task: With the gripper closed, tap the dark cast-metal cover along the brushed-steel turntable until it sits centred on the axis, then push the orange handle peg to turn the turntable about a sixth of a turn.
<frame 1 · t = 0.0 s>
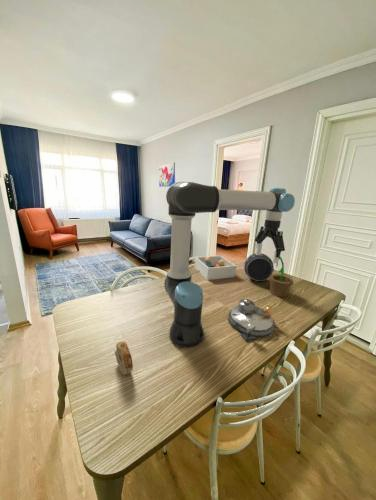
hand: (266, 258, 113), 28 cm above the table, fingers open, 13 cm apart
cover: (245, 310, 107), point 4 cm above the table, touching turntable
turntable: (252, 312, 102), point 6 cm above the table, hinge at -20.0°, touching cover
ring: (256, 279, 154), on the table
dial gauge: (247, 337, 93), on the table
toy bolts: (214, 272, 163), resting in parts crate
parts crate: (214, 272, 163), on the table
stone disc: (124, 368, 74), on the table
turntable base: (250, 322, 104), on the table
flowerpot: (278, 293, 135), on the table
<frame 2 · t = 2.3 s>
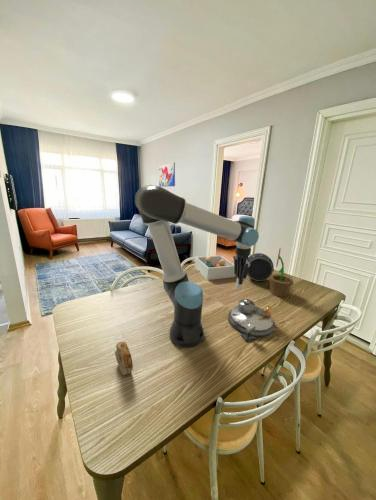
hand: (238, 288, 113), 12 cm above the table, fingers closed
nothing on the table moved.
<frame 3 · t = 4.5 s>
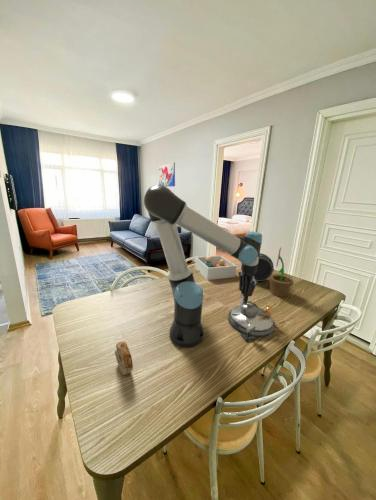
hand: (243, 305, 109), 5 cm above the table, fingers closed
cover: (248, 312, 105), point 4 cm above the table, touching gripper
turntable: (252, 312, 102), point 6 cm above the table, hinge at -20.0°
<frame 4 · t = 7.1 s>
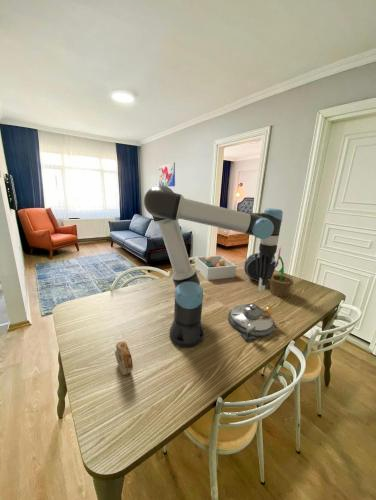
hand: (261, 290, 101), 17 cm above the table, fingers closed
cover: (251, 315, 103), point 4 cm above the table, touching turntable
turntable: (252, 312, 102), point 6 cm above the table, hinge at -20.0°, touching cover
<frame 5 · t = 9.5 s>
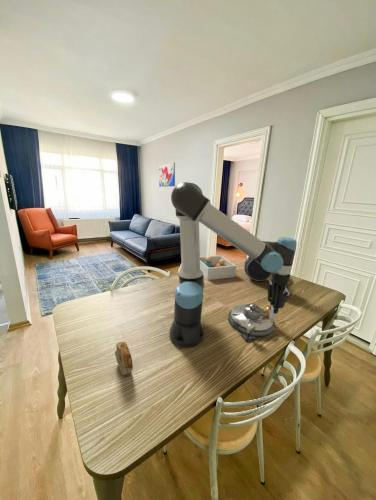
hand: (272, 317, 100), 5 cm above the table, fingers closed
turntable: (252, 312, 102), point 6 cm above the table, hinge at -19.9°, touching cover, gripper
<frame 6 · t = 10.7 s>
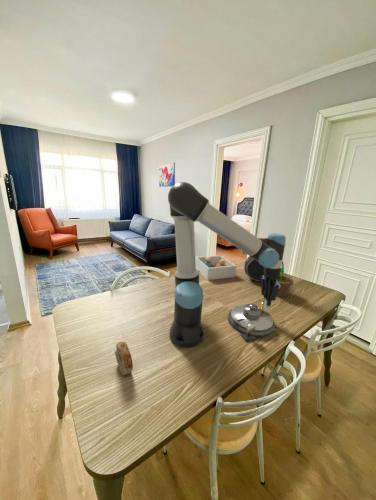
hand: (266, 310, 105), 6 cm above the table, fingers closed
turntable: (252, 312, 102), point 6 cm above the table, hinge at 11.9°, touching cover, gripper
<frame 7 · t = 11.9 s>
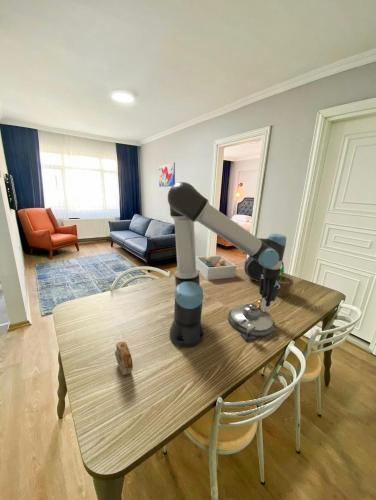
hand: (264, 309, 105), 5 cm above the table, fingers closed
turntable: (252, 312, 102), point 6 cm above the table, hinge at 24.7°, touching cover, gripper
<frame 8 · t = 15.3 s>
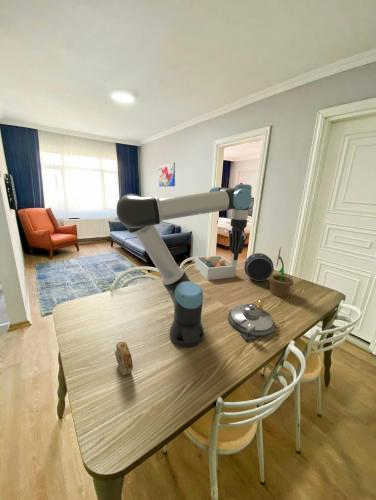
hand: (233, 265, 105), 26 cm above the table, fingers closed
turntable: (252, 312, 102), point 6 cm above the table, hinge at 23.8°, touching cover
at the end: cover 0.4 cm off-centre on the turntable, point 3.8 cm above the turntable's base; turntable at +24° (first picture: -20°); cover tilted 0° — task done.
